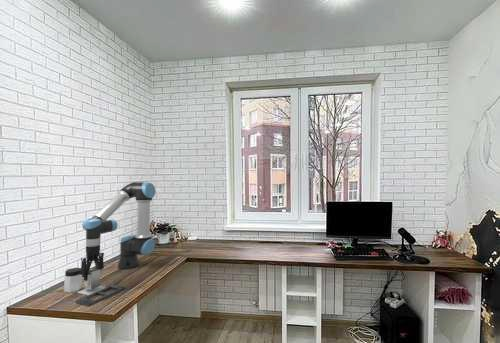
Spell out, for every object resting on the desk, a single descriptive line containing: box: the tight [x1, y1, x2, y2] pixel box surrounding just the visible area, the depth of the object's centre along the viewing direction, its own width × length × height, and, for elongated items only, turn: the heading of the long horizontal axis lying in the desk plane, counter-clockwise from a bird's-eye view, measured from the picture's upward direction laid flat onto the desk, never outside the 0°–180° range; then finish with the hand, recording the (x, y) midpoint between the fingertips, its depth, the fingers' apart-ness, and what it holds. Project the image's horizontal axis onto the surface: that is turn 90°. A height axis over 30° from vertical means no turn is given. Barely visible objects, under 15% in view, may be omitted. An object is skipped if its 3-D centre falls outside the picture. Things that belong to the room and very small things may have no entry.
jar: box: [63, 267, 83, 294], centre depth 161 cm, size 9×8×12 cm
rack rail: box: [75, 284, 126, 307], centre depth 153 cm, size 24×10×1 cm, turn 158°
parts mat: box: [76, 285, 107, 296], centre depth 160 cm, size 12×10×1 cm
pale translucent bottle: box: [83, 267, 101, 290], centre depth 161 cm, size 6×6×11 cm
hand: (92, 283), depth 160 cm, fingers closed on pale translucent bottle, 6 cm apart
